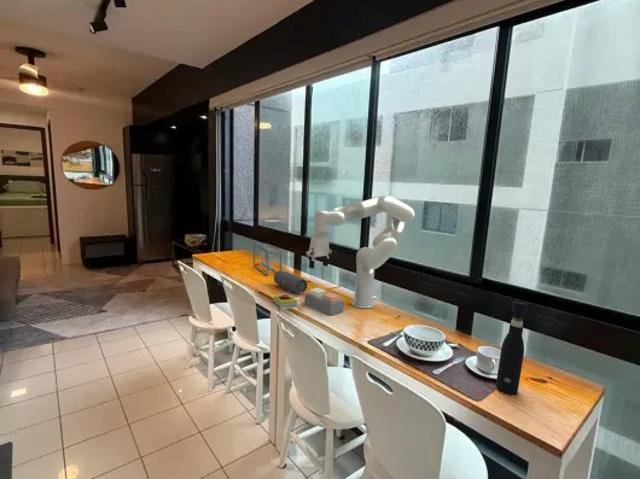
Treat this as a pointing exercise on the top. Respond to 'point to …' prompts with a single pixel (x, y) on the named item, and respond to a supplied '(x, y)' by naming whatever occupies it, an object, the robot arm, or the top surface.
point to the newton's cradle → (267, 258)
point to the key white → (317, 292)
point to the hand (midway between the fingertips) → (318, 267)
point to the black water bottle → (512, 353)
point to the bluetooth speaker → (290, 282)
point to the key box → (324, 305)
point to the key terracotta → (331, 297)
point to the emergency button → (285, 301)
